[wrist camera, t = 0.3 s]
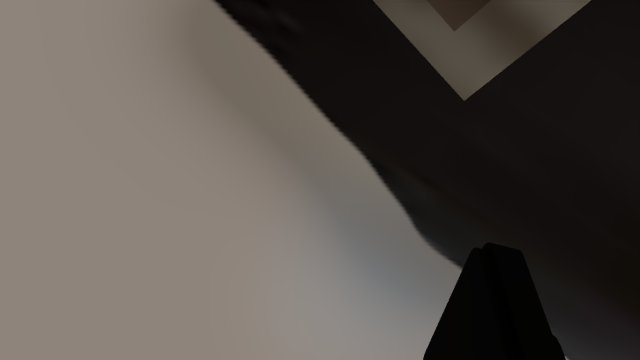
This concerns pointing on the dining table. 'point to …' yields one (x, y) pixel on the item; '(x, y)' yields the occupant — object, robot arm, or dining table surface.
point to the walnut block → (457, 10)
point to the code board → (478, 35)
